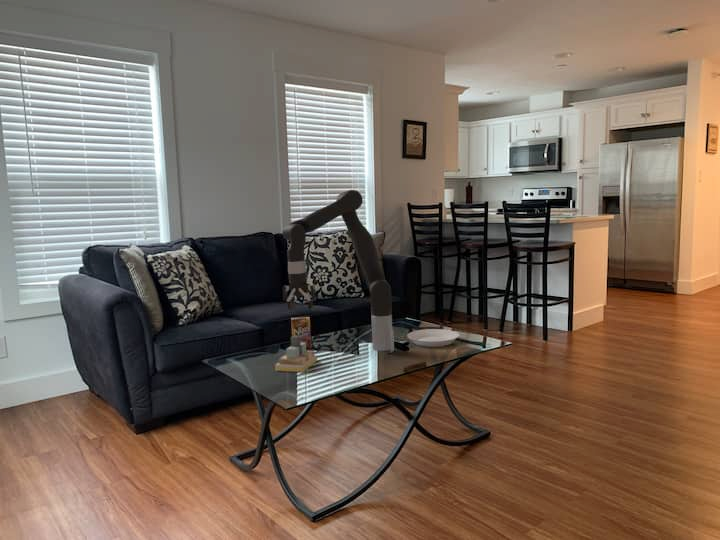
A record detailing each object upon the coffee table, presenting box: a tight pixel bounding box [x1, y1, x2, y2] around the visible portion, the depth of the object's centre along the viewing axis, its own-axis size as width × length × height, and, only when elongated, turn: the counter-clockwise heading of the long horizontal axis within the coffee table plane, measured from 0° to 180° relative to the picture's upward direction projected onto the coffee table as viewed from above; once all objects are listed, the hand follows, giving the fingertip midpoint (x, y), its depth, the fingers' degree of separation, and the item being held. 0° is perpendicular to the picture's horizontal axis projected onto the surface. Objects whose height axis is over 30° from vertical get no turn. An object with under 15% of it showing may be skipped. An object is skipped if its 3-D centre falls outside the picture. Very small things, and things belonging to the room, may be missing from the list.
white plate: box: [406, 328, 460, 348], centre depth 268 cm, size 25×25×4 cm
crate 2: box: [301, 342, 307, 354], centre depth 237 cm, size 4×4×4 cm
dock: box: [274, 354, 318, 373], centre depth 234 cm, size 12×16×4 cm
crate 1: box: [285, 346, 299, 359], centre depth 230 cm, size 4×4×4 cm
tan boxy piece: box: [278, 335, 315, 365], centre depth 233 cm, size 14×10×10 cm
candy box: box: [290, 316, 312, 349], centre depth 266 cm, size 9×4×15 cm, turn 98°
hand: (300, 309), depth 235 cm, fingers open, 8 cm apart
